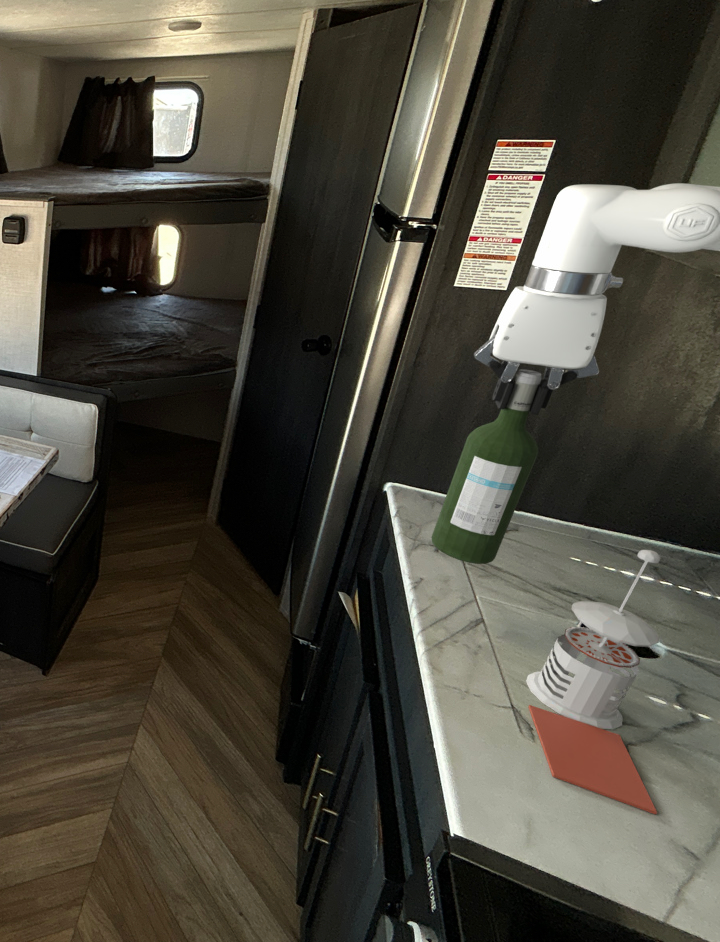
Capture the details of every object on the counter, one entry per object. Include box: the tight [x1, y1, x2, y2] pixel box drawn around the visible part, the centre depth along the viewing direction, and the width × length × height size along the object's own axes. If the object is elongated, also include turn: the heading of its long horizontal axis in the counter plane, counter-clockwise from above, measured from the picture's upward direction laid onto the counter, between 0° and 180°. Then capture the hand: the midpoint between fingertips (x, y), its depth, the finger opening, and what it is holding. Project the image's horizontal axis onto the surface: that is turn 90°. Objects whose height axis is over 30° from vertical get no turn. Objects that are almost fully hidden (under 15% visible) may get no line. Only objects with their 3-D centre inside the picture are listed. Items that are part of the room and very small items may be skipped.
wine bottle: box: [431, 368, 543, 565], centre depth 94 cm, size 8×8×30 cm
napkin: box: [528, 704, 658, 815], centre depth 80 cm, size 9×12×1 cm
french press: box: [525, 549, 662, 730], centre depth 84 cm, size 10×12×25 cm
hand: (516, 407), depth 90 cm, fingers closed on wine bottle, 2 cm apart
